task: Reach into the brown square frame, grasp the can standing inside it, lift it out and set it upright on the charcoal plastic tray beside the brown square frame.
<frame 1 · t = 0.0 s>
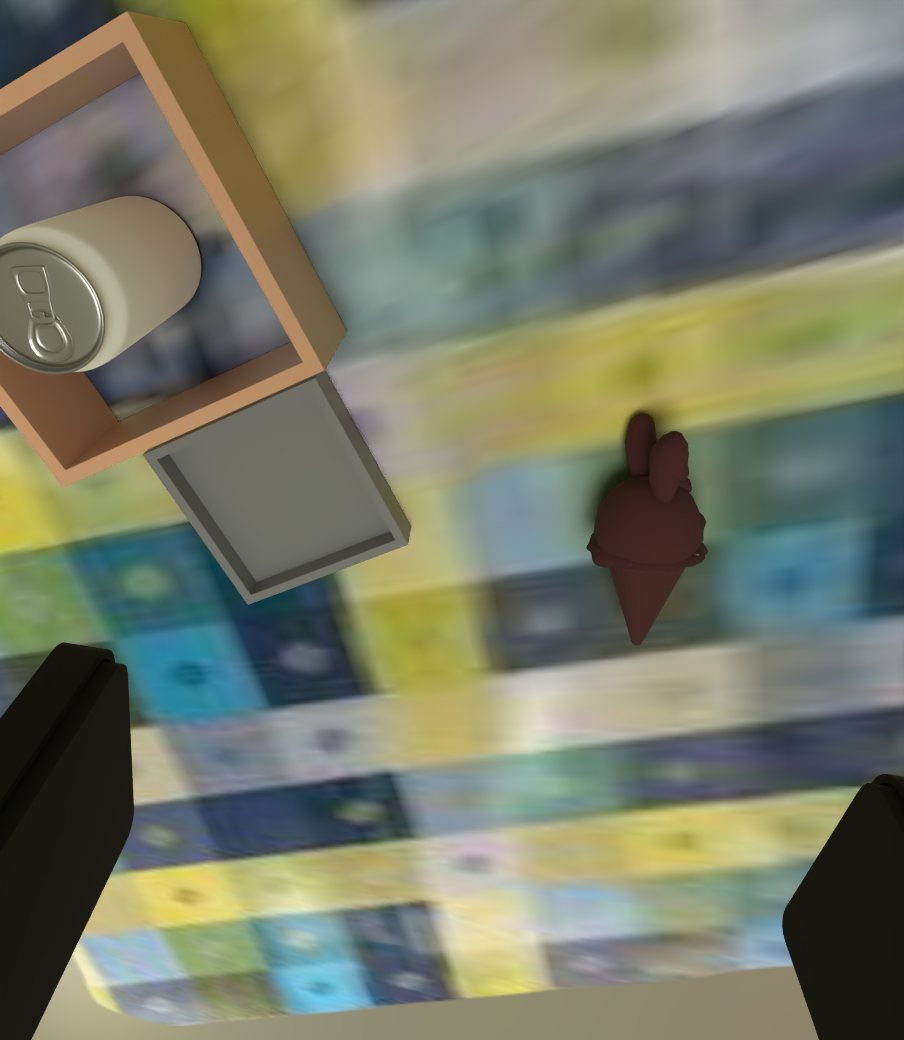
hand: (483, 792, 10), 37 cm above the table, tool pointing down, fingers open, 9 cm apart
tray: (287, 484, 50), on the table
can: (147, 255, 44), resting in brown square frame
icecream: (638, 511, 50), on the table
brown square frame: (146, 256, 43), on the table
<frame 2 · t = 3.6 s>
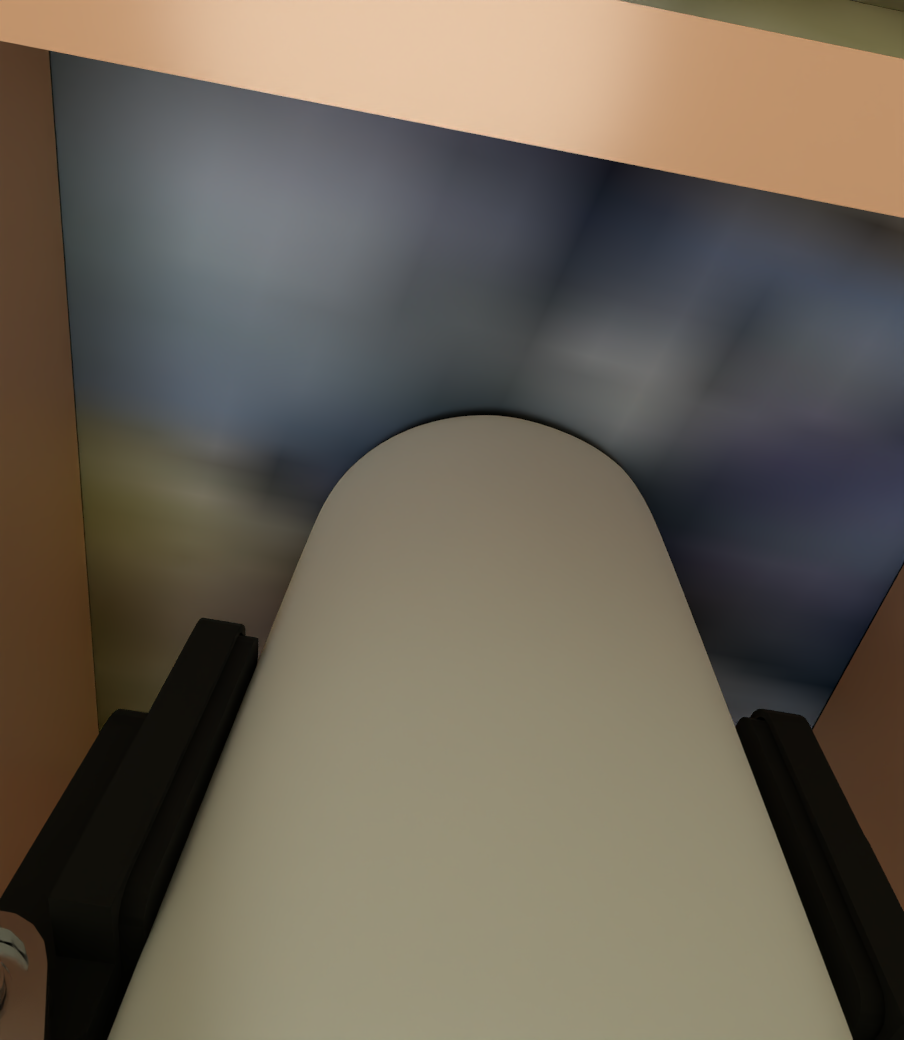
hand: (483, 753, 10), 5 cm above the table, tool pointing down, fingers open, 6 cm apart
can: (484, 560, 15), resting in brown square frame, touching gripper
brown square frame: (484, 566, 15), on the table
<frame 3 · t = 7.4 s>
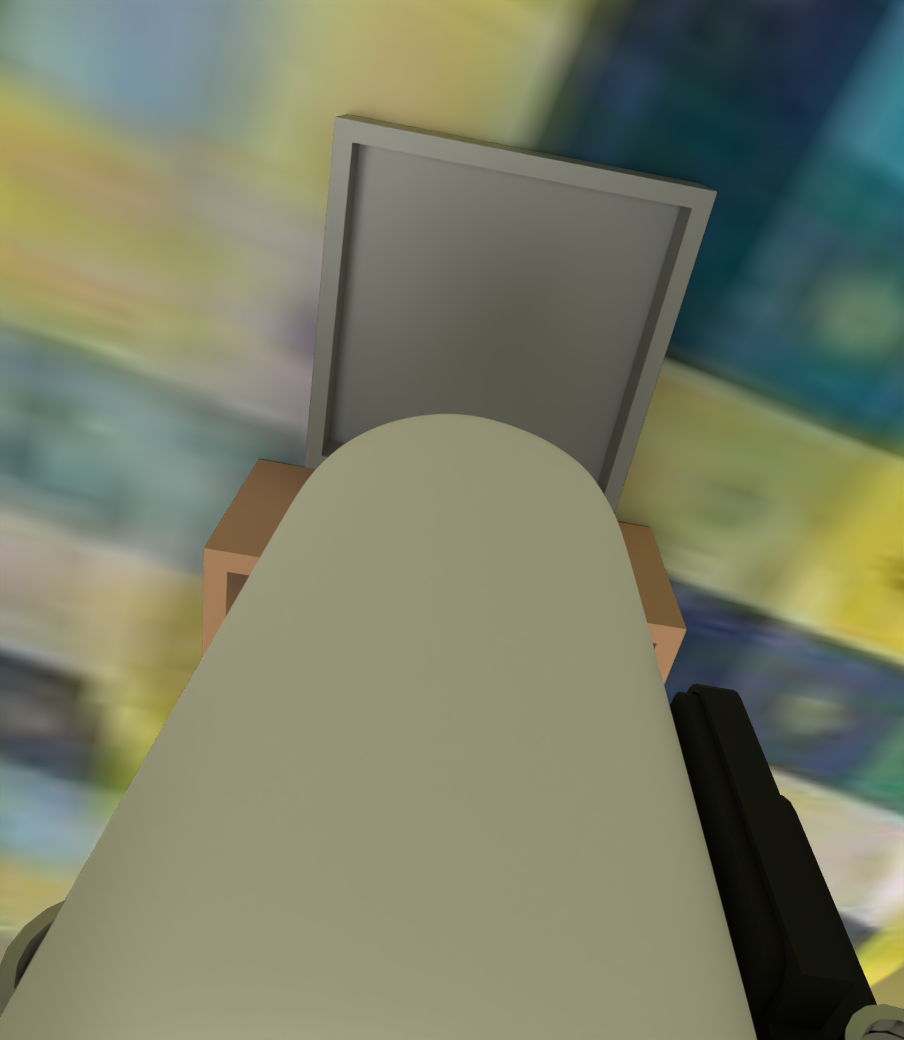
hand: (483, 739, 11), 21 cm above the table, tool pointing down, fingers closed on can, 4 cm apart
tray: (490, 325, 29), on the table
can: (454, 559, 15), point 16 cm above the table, touching gripper
brown square frame: (426, 647, 36), on the table
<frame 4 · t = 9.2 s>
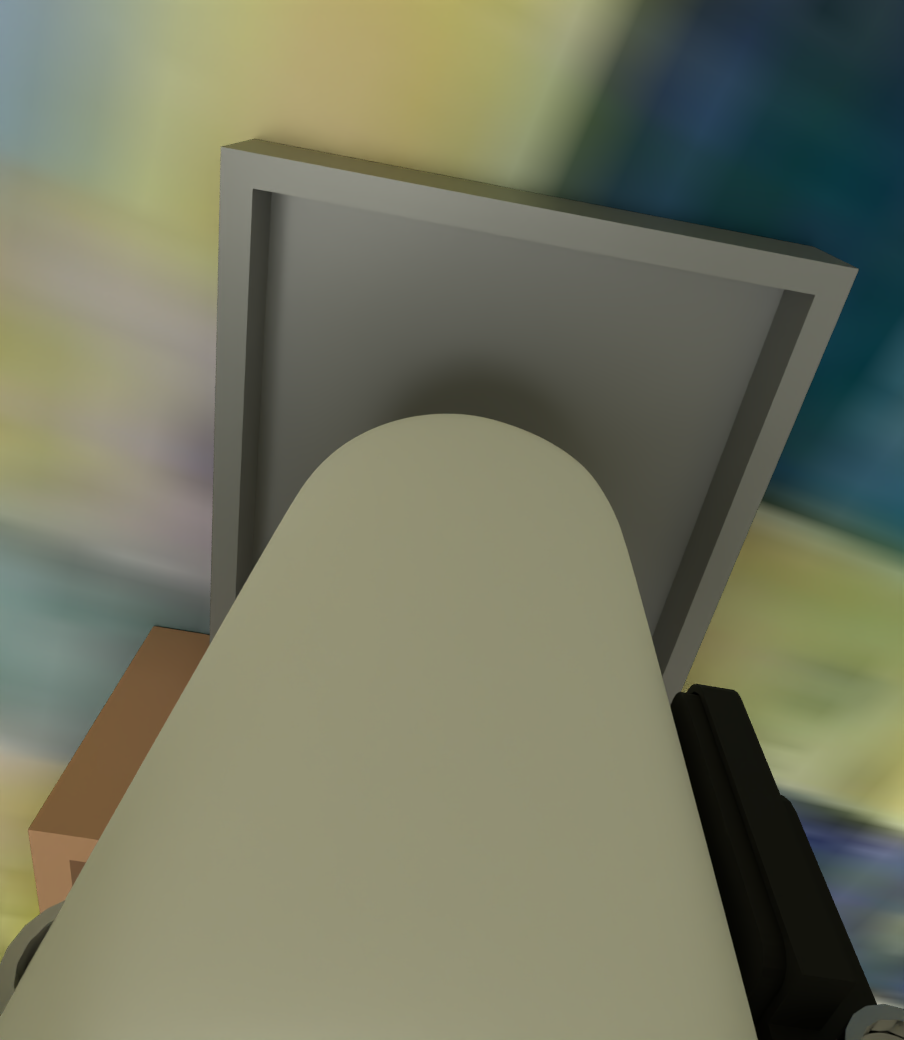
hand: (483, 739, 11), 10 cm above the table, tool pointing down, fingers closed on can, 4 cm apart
tray: (484, 450, 19), on the table
can: (454, 559, 15), point 5 cm above the table, touching gripper
brown square frame: (398, 854, 27), on the table
when the fingers open (7 cm above the table, at t = 10.7 s): can drops 1 cm, resting on tray.
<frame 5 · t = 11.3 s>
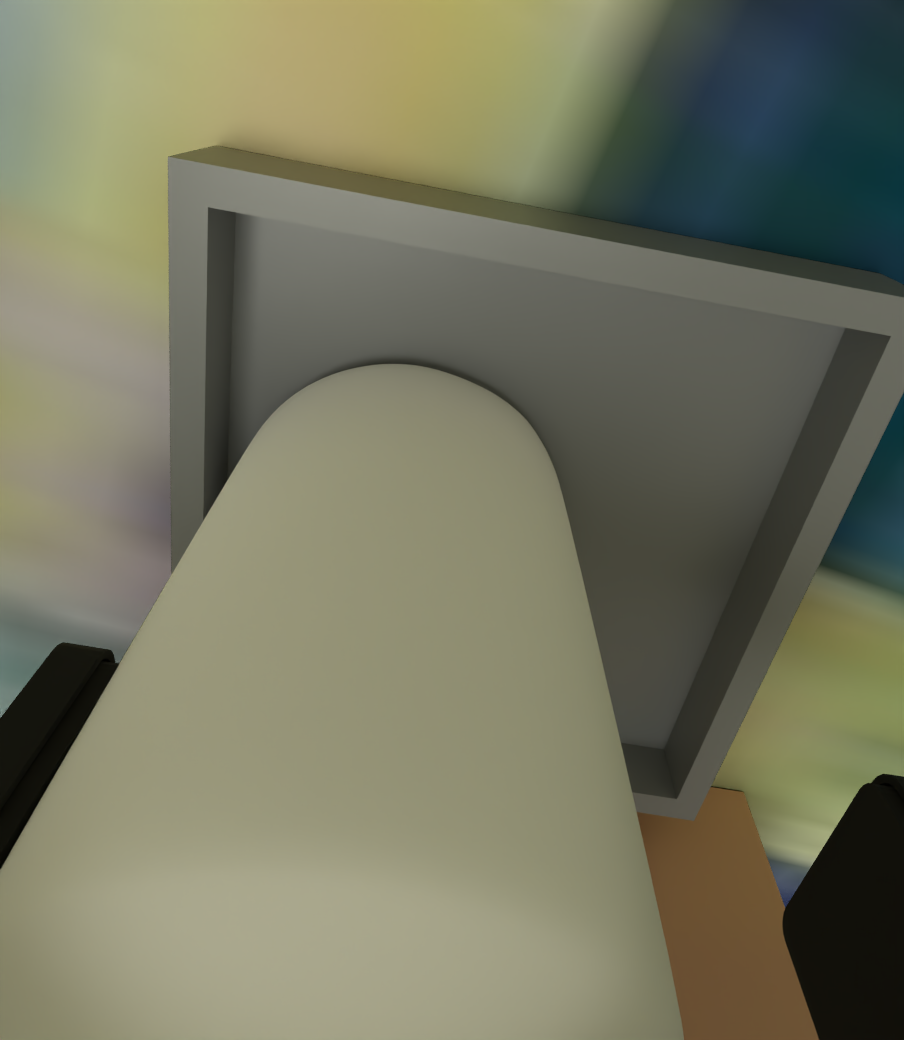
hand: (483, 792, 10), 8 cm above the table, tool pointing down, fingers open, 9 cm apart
tray: (489, 504, 17), on the table
can: (402, 504, 16), point 1 cm above the table, touching gripper, tray
brown square frame: (392, 932, 24), on the table
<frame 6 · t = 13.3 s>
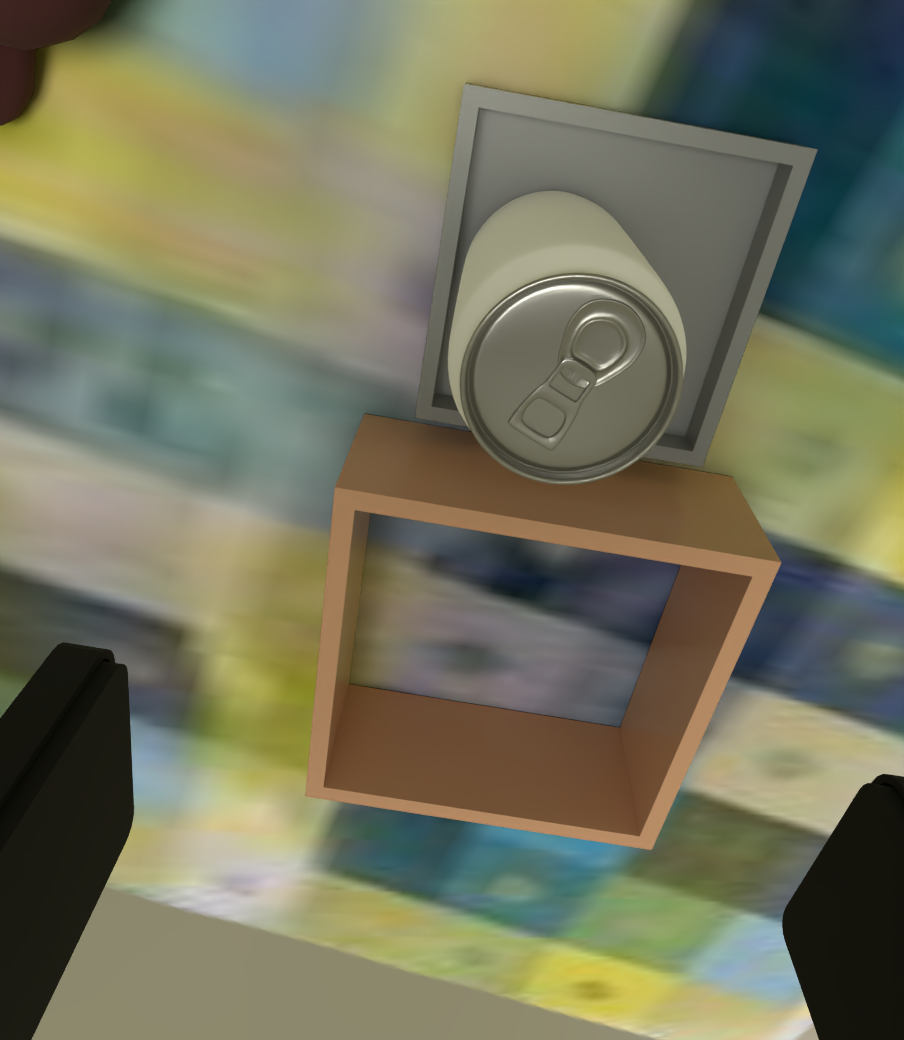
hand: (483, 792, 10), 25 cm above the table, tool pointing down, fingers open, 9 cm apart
tray: (590, 282, 31), on the table
can: (546, 277, 30), point 1 cm above the table, touching tray
brown square frame: (512, 595, 38), on the table
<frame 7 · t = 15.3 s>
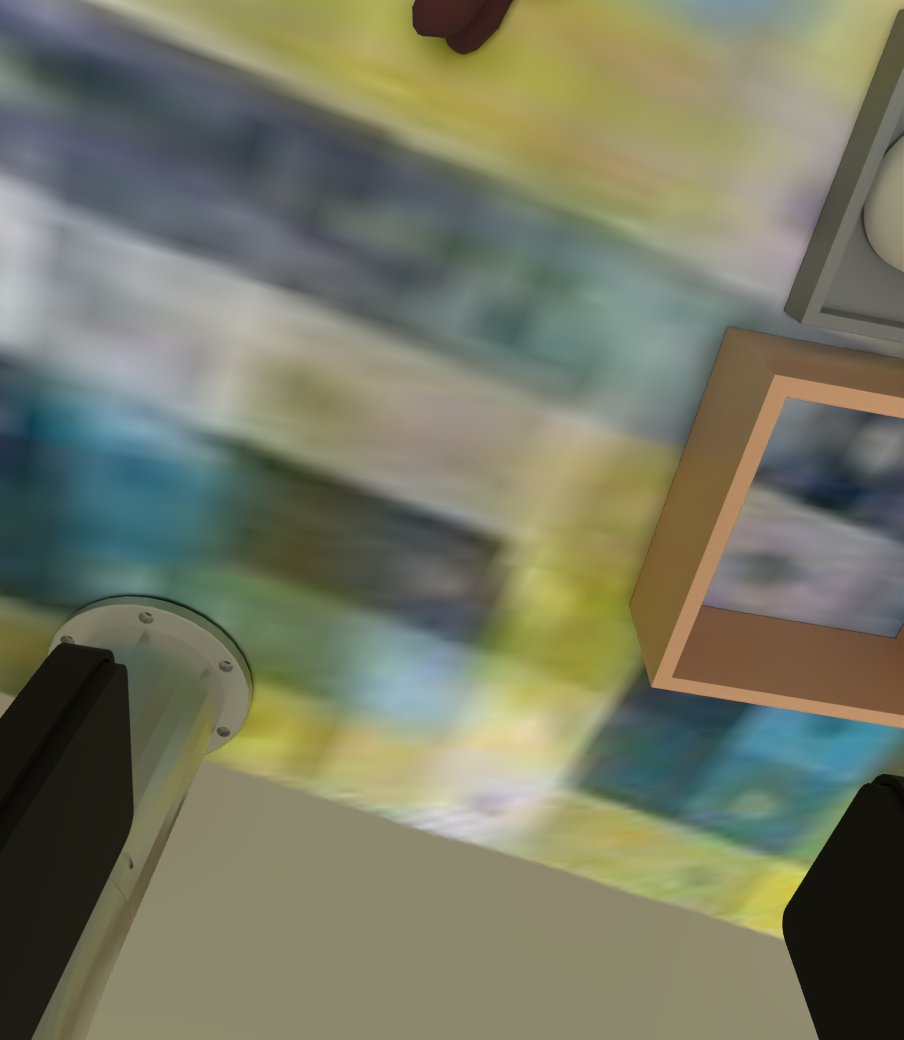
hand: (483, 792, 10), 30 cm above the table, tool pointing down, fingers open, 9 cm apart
brown square frame: (824, 506, 41), on the table
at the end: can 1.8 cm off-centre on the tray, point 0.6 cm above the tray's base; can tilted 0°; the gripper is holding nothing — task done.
